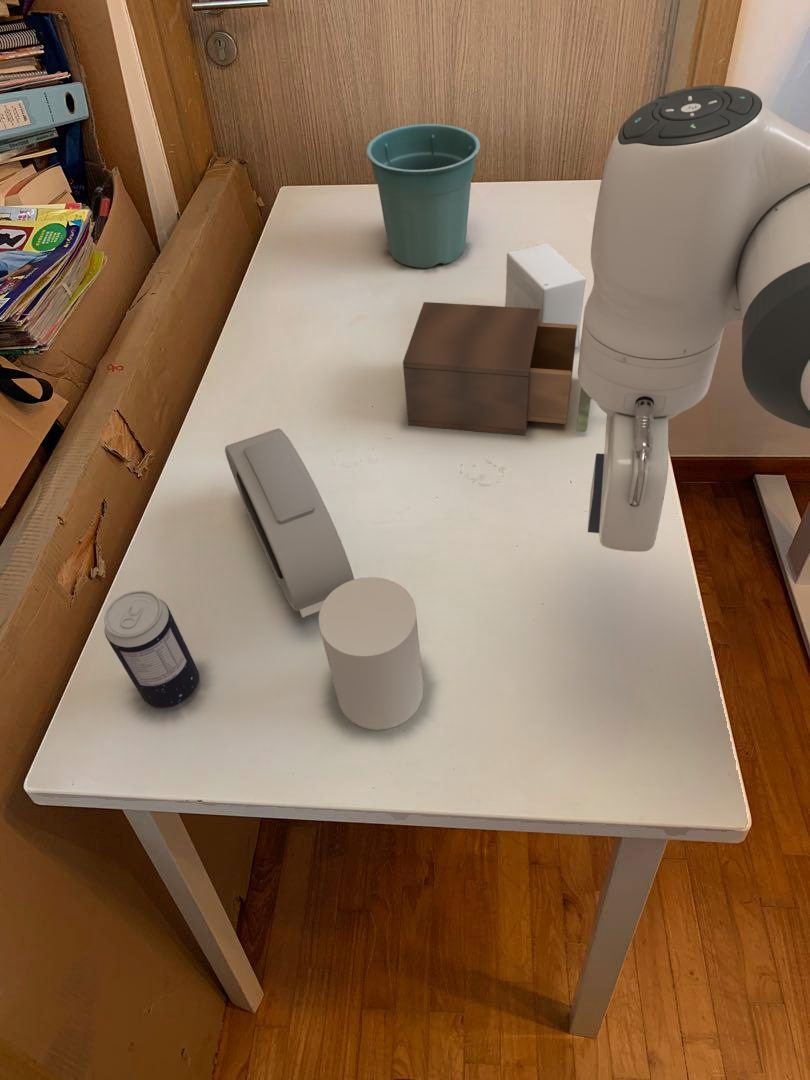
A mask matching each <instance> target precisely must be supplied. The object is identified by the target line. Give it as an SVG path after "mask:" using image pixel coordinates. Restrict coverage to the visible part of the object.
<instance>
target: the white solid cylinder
mask: <svg viewBox="0 0 810 1080" xmlns="http://www.w3.org/2000/svg"><path fill="white" fill-rule="evenodd" d="M318 626H319V630H320V635H321V638H322V642H323V646H324V647H323V648H324V650H325V655H326V659H327V662H328V666H329V670H330V673H331V678H332V682H333V687H334V691H335V694H336V698H337V702H338V706H339V708H340V710H341V712H342V713H343V714H344V716H345V717H346V718H347V719H348V720H349V721H350V722H352V723H353V724H354V725H357V726H359V727H360V728H363V729H366V730H375V731H377V730H378V731H380V730H381V731H382V730H389V729H393V728H396V727H398V726H400V725H402V724H404V723H405V722H407V721H408V720H410V719H411V718H412V717H413V716H414V715H415V714H416V712H417V711H418V710H419V708H420V706H421V705H422V701H423V698H424V692H425V691H424V690H425V689H424V679H423V670H422V668H423V667H422V658H421V657H422V656H421V648H420V639H419V638H420V637H419V628H418V627H419V626H418V619H417V608H416V604H415V601H414V599H413V597H412V595H411V594H410V593H409V592H408V590H407V589H405V587H403V586H402V585H401V584H399V583H397V582H395V581H393V580H391V579H388V578H384V577H379V576H378V577H377V576H366V577H364V576H363V577H359V578H358V577H357V578H354V580H351V581H349V582H346V583H344V584H342V585H341V586H339V587H338V588H336V589H335V590H334V591H332V592H331V593H330V594H329V596H328V597H327V598H326V599H325V601H324V603H323V604H322V607H321V609H320V611H319V613H318Z"/></svg>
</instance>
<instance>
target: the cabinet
mask: <svg viewBox="0 0 810 1080" xmlns="http://www.w3.org/2000/svg"><path fill="white" fill-rule="evenodd" d="M539 322H540V309H535V308H518V307H505V306H499V305H483V304H482V305H481V304H464V303H448V302H431V301H424V302H423V303H422V306H421V309H420V313H419V315H418V318H417V321H416V323H415V326H414V329H413V331H412V334H411V337H410V340H409V344H408V347H407V350H406V352H405V355H404V358H403V361H402V366H403V367H402V368H403V369H402V371H403V380H404V392H405V402H406V403H405V405H406V416H407V425H408V426H412V427H424V428H435V429H447V430H459V431H470V432H480V433H481V432H482V433H492V434H502V435H503V434H504V435H516V436H526V435H527V428H528V424H529V421H527V407H528V389H529V372H530V366H531V361H532V355H533V350H534V344H535V339H536V334H537V328H538V323H539Z"/></svg>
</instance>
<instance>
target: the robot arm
mask: <svg viewBox="0 0 810 1080" xmlns="http://www.w3.org/2000/svg"><path fill="white" fill-rule="evenodd" d="M590 264H591V268H592V269H591V270H592V274H593V285H592V288H591V291H590V293H589V296H588V297H587V300H586V303H585V306H584V310H583V320H582V329H581V336H580V337H581V339H580V346H579V347H580V348H579V357H578V364H577V365H578V366H577V378H578V382H579V384H580V387H581V386H582V388H583V390H584V391H585V392H586V393H587V395H589V396H590V397H591V399H592V401H594V402H595V404H596V405H597V406H598V407H599V408H600V410H602V412H604V413H605V414H606V420H605V433H604V435H605V436H604V448H603V449H604V451H603V454H604V465H603V480H602V495H601V511H600V526H599V533H598V538H599V543H600V545H601V546H602V547H603V548H605V549H612V550H616V551H621V552H632V553H633V552H634V553H643V552H648V551H650V550H652V549H653V547H654V545H655V543H656V540H657V535H658V531H659V527H660V525H659V524H660V521H661V516H662V510H663V504H664V499H665V494H666V490H667V489H666V488H667V484H668V483H667V481H668V475H669V421H670V420H672V419H674V418H675V417H677V416H678V415H679V414H680V413H682V412H685V411H687V410H689V409H691V408H693V407H694V406H696V405H697V404H698V403H700V402H701V401H702V400H703V399H704V398H705V397H706V395H707V394H708V392H709V390H710V386H711V383H712V379H713V375H714V370H715V367H716V363H717V360H718V356H719V352H720V348H721V344H722V339H723V335H724V332H725V328H726V326H727V325H729V324H730V323H732V322H735V321H742V326H741V372H742V373H741V374H742V378H743V382H744V384H745V386H746V389H747V391H748V392H749V395H750V396H751V397H752V398H753V399H754V401H755V402H756V403H757V404H758V405H759V406H760V407H762V408H763V409H764V410H765V411H767V412H768V413H769V414H771V415H773V416H775V418H778V419H780V420H782V421H785V422H787V423H790V424H792V425H795V426H798V427H801V428H805V429H810V133H809V132H807V131H804V130H802V129H801V128H798V127H797V126H796V125H793V124H792V123H790V122H788V121H787V120H785V119H783V118H782V117H780V116H779V115H778V114H777V113H775V112H774V111H773V110H772V109H771V108H770V107H769V106H768V105H767V104H766V102H765V101H764V100H763V99H762V97H760V96H759V95H758V94H756V93H755V92H753V91H751V90H749V89H746V88H743V87H740V86H739V87H738V86H731V85H721V84H704V85H702V84H701V85H695V86H689V87H685V88H681V89H676V90H673V91H670V92H667V93H664V94H662V95H659V96H658V97H656V98H655V99H653V100H651V101H650V102H648V103H646V104H644V105H643V106H641V107H639V108H638V109H637V110H635V111H634V112H633V113H631V114H630V116H629V117H628V118H627V119H626V120H625V121H624V122H623V123H622V125H621V126H620V128H619V129H618V131H617V132H616V135H615V136H614V139H613V142H612V144H611V145H610V148H609V151H608V154H607V157H606V160H605V164H604V167H603V171H602V176H601V180H600V185H599V190H598V195H597V202H596V207H595V214H594V221H593V228H592V237H591V244H590Z"/></svg>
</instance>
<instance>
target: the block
mask: <svg viewBox="0 0 810 1080" xmlns="http://www.w3.org/2000/svg"><path fill="white" fill-rule="evenodd" d="M603 465H604V453H595V459H594V466H593V473H592V481H591V487H590V497H589V509H588V523H587V533H593V534H599V526H600V511H601V495H602V480H603Z"/></svg>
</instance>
